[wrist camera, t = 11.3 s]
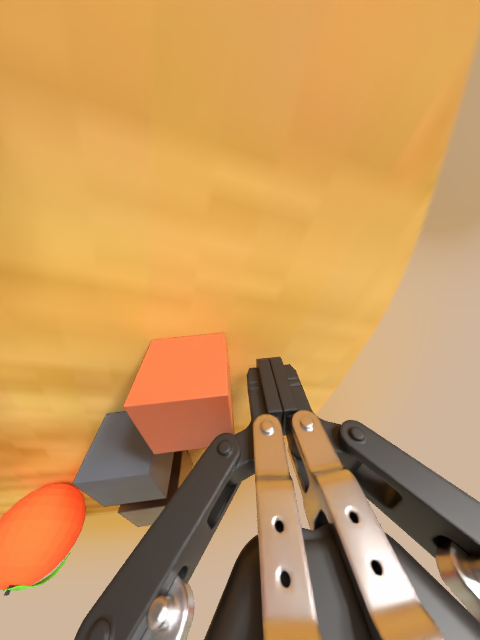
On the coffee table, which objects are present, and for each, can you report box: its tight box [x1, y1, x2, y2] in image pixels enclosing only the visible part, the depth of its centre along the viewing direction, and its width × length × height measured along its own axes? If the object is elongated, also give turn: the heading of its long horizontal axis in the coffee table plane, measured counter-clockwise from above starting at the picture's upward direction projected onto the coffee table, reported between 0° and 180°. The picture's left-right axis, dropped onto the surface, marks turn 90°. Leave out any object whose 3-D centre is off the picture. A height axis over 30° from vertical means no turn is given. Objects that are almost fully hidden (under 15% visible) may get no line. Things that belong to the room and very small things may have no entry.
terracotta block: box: [123, 333, 234, 454], centre depth 12 cm, size 4×4×4 cm
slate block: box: [73, 412, 174, 506], centre depth 15 cm, size 4×4×4 cm
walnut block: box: [118, 450, 192, 527], centre depth 19 cm, size 4×4×4 cm
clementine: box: [0, 483, 86, 595], centre depth 19 cm, size 8×7×7 cm
